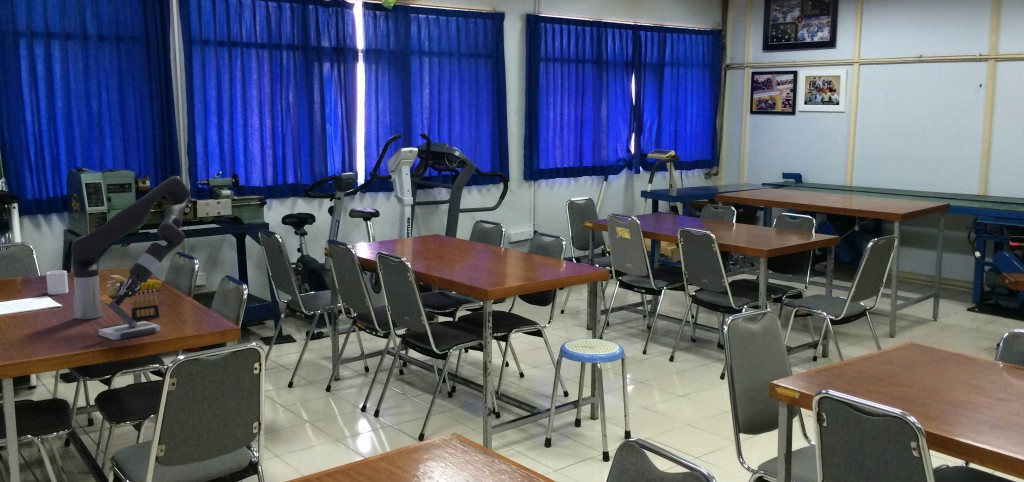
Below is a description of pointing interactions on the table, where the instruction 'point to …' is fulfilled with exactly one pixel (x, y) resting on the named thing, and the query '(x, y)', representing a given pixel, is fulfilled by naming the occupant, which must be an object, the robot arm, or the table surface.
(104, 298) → the lever
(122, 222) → the robot arm
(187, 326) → the table surface
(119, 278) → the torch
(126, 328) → the grey flat slab
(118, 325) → the grey bar
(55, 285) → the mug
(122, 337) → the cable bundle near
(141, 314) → the ammunition clip
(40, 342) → the table surface
